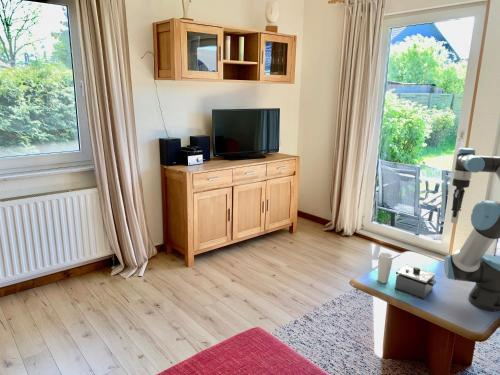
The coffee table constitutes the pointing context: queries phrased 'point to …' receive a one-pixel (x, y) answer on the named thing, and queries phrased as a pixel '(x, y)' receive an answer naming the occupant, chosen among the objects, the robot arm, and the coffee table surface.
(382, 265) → the white hollow cylinder
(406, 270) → the lid
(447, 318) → the coffee table surface
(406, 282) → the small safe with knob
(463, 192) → the robot arm
